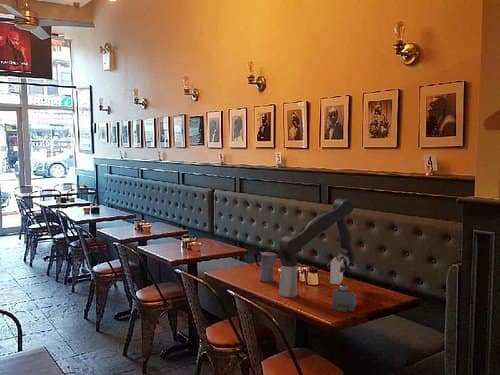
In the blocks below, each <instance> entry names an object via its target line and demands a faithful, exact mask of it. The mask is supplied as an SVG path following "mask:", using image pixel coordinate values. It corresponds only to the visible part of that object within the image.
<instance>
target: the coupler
mask: <svg viewBox="0 0 500 375" xmlns="http://www.w3.org/2000/svg"><path fill="white" fill-rule="evenodd" d="M356 306H357V294H355V292H354V291H352V290H351V291H350V290H349V286H348V285H346V284H339V286H338V289H334V288H333V290H332V308H331V309H332V310H336V311H337V312H343V313H347V312H351V311H352V312H354V310H355V309H354V308H356Z"/></svg>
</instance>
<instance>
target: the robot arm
mask: <svg viewBox="0 0 500 375" xmlns="http://www.w3.org/2000/svg"><path fill="white" fill-rule="evenodd" d="M354 206H355V205H354V203H353V202H352V201H351V200H349V199H344V198H336V199H335V200H334V201H333V204H332V209H333V210H331V211H329V212H326V213H323V214H320V215H318V216H316V217H314V218H313V219H312V220H310V221H308V223H307V225H306V226H305V228H304V229H303V231H302V232H300V233H299V234H298V235H297V236H295V237H292V236H289V235H286V236H282V238H281V239H280V242H279V246H278V247H279V260H280V278H279V287H278V289H279V291H278V292H279V293H278V296H280V297H284V298H296V297H297V296H298V293H297V292H298V260H297V258H296V256H295V254H297V253H299V252H300V251H301V250H302V249H303V248H304V247H305V246H306V245H308V244H309V243H310V242H311V241H313V240H314V239H315V238H317V237H318V236H320V235H321V234H323V233H324V232H325V231H327V230H328V229H330V228H331V227H332V226H333V225H335V224H336V227H337V232H338V240H339V241H338V243H339V244H338V245H339V248H341V249H343V250H345V251H339V252H338V253H337V258H343V266H342V267H341V272H343V273H344V272H349V271H351V270H352V264H354V262H355V261H356V254H355V252H354V250H353V245H352V237H351V232H350V229H349V226H348V224H347V222H346V219H345V217H346V218H347V217H348V216H349V215H350V214H352V212H353V210H354V208H355V207H354ZM326 263H327V264H326V265H327V266H326V267H327V270H329V272H330V271H331V262H326Z"/></svg>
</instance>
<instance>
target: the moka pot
mask: <svg viewBox="0 0 500 375" xmlns="http://www.w3.org/2000/svg"><path fill="white" fill-rule="evenodd" d="M257 255H258V256H260V259H261V261H260V262H261V263H260V264H261V265H260V264H259V262H258V256H257ZM253 256H254V259H255V264H256V266H257V267H261V271H260V275H259V281H260V282H263V283H273V282H274V267H275V262H276V260H277V259H278V257H279V254H276V253H275V252H271V249H267V251H264V252H261V251H257V252H256V253H255V254H254V255H253Z"/></svg>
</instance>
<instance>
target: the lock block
mask: <svg viewBox="0 0 500 375" xmlns="http://www.w3.org/2000/svg"><path fill="white" fill-rule="evenodd" d="M330 264H331V271H330V270H329V272H330V274H329V278H330V279H329V283H330V284H332V285H341V283H342V282H343V279H344V278H343V277H344V272H341V267H342V266H343V258H338V257H333V259H332V260H331V261H330Z"/></svg>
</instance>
